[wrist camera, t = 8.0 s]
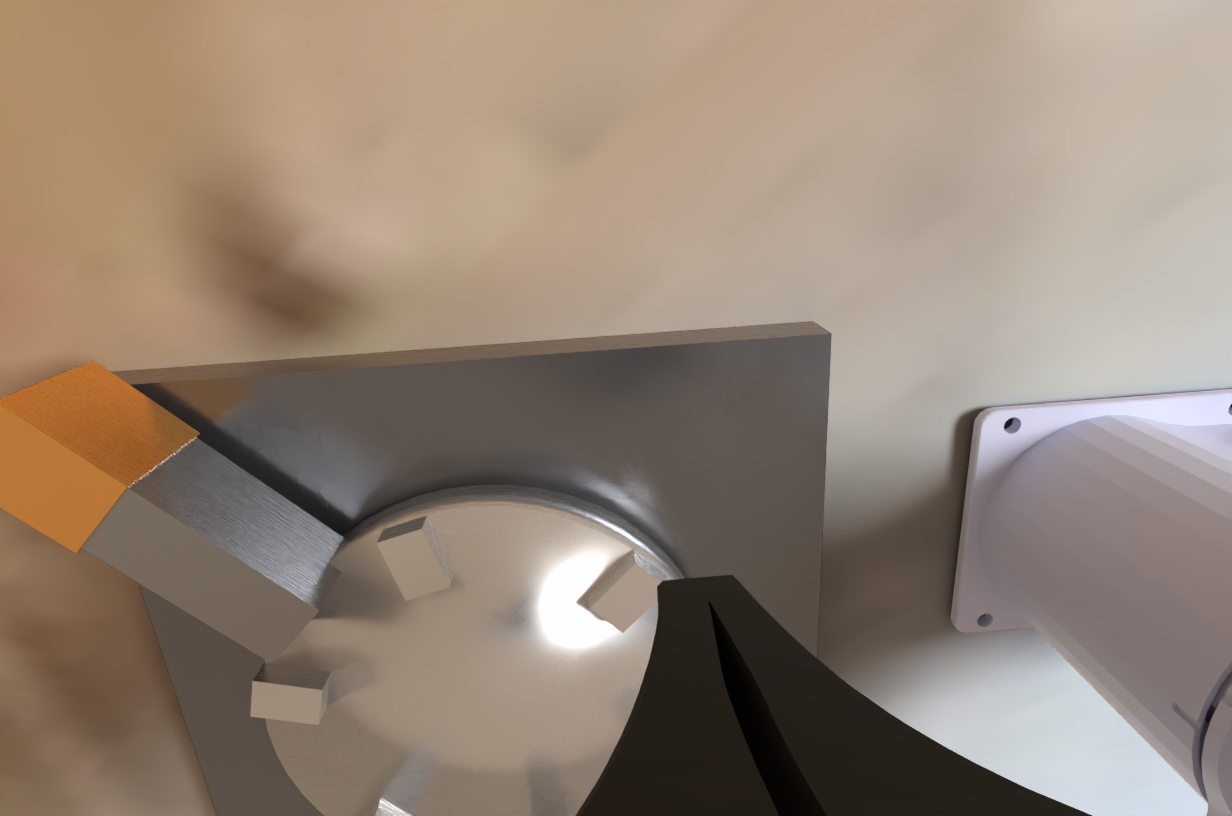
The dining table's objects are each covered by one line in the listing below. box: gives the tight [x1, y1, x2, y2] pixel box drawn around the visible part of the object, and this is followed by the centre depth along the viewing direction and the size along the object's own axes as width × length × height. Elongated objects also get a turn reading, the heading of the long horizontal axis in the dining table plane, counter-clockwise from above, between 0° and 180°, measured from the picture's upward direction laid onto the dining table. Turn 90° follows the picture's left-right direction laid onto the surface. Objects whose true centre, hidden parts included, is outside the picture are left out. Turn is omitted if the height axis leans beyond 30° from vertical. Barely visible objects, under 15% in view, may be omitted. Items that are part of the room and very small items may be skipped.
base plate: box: [112, 321, 831, 816], centre depth 23 cm, size 20×20×2 cm
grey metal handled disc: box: [0, 360, 685, 816], centre depth 19 cm, size 13×20×3 cm, turn 48°
